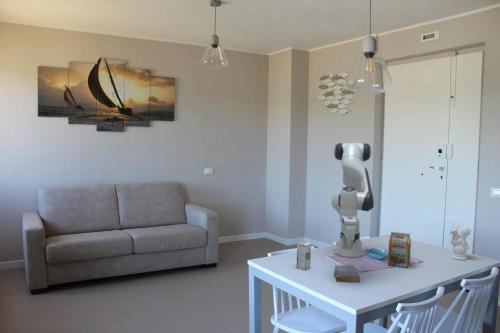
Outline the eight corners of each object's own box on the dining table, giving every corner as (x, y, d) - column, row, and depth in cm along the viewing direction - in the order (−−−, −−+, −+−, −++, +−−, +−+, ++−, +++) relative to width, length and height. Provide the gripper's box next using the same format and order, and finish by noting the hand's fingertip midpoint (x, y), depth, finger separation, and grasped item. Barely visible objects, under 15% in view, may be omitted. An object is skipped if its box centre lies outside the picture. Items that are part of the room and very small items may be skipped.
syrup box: (301, 265, 255) (302, 241, 254) (310, 267, 251) (311, 242, 250) (296, 268, 251) (296, 242, 250) (305, 270, 247) (305, 244, 246)
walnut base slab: (333, 275, 241) (334, 269, 240) (356, 276, 240) (356, 270, 239) (336, 282, 229) (336, 277, 229) (359, 283, 228) (360, 278, 228)
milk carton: (388, 265, 257) (389, 233, 256) (391, 261, 266) (392, 230, 265) (407, 268, 252) (408, 235, 251) (410, 263, 262) (411, 232, 260)
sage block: (342, 246, 236) (342, 235, 235) (351, 247, 235) (351, 236, 235) (343, 249, 231) (343, 238, 230) (352, 249, 230) (353, 238, 230)
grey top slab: (334, 270, 239) (335, 265, 239) (353, 270, 239) (353, 265, 239) (339, 276, 229) (339, 271, 229) (358, 276, 229) (358, 271, 229)
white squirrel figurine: (471, 260, 271) (474, 224, 269) (456, 262, 266) (458, 226, 264) (455, 254, 282) (458, 220, 280) (440, 256, 278) (442, 222, 276)
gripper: (339, 214, 242) (339, 239, 243) (344, 221, 222) (343, 249, 223) (351, 214, 242) (350, 239, 243) (357, 222, 222) (356, 249, 223)
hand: (347, 244), depth 233 cm, fingers closed on sage block, 5 cm apart
